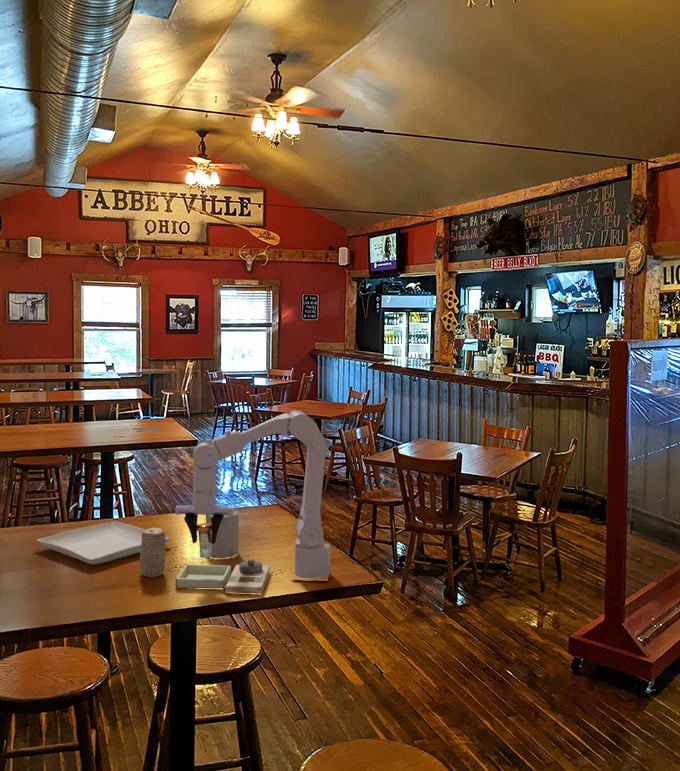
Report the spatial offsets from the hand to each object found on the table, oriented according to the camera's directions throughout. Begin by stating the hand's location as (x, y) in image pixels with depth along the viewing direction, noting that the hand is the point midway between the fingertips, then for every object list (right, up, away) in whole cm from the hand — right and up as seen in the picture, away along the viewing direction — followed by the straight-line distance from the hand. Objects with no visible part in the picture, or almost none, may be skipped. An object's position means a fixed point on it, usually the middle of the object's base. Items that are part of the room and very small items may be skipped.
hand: (204, 542), depth 189 cm
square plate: (-34, -8, +26) cm, 43 cm away
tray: (0, -10, +1) cm, 10 cm away
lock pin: (0, -4, 0) cm, 4 cm away
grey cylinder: (+1, -9, +23) cm, 24 cm away
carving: (-15, -10, +5) cm, 18 cm away
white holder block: (+11, -11, +1) cm, 16 cm away
